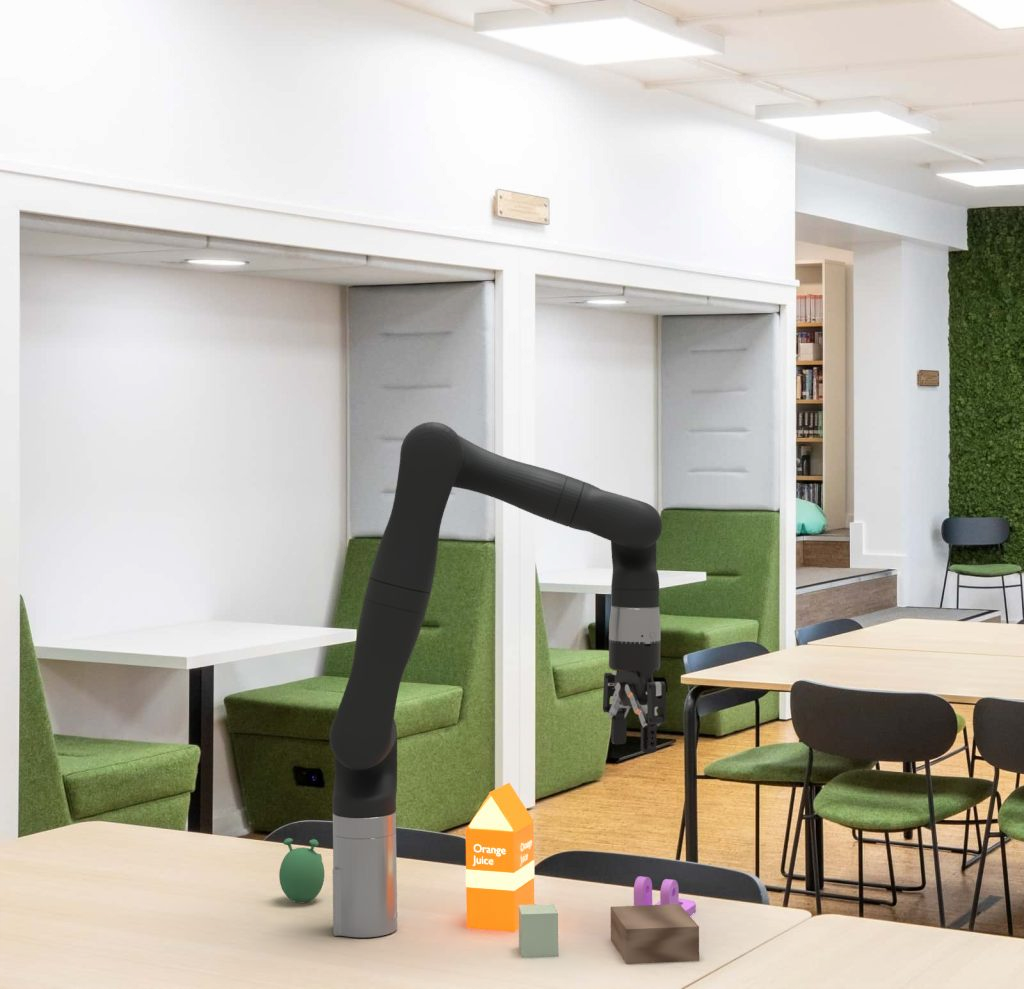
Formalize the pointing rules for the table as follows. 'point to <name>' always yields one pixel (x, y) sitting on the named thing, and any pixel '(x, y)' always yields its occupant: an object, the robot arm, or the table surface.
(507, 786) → the orange juice
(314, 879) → the alien toy
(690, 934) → the plate
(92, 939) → the table surface
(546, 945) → the sage block
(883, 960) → the table surface
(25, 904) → the table surface
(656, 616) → the robot arm
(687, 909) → the bracket
